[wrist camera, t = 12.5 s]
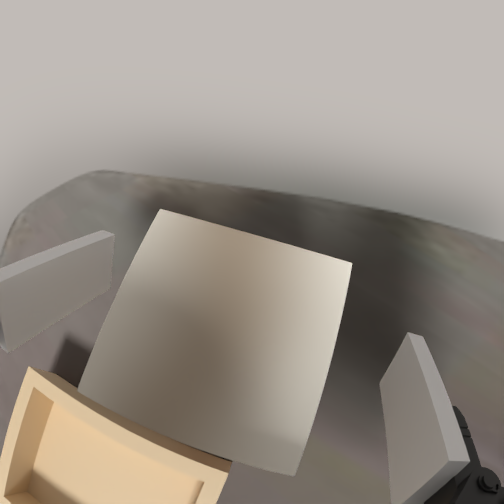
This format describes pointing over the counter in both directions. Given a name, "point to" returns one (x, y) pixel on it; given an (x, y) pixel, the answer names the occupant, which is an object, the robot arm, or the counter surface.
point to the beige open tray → (96, 454)
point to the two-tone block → (221, 341)
